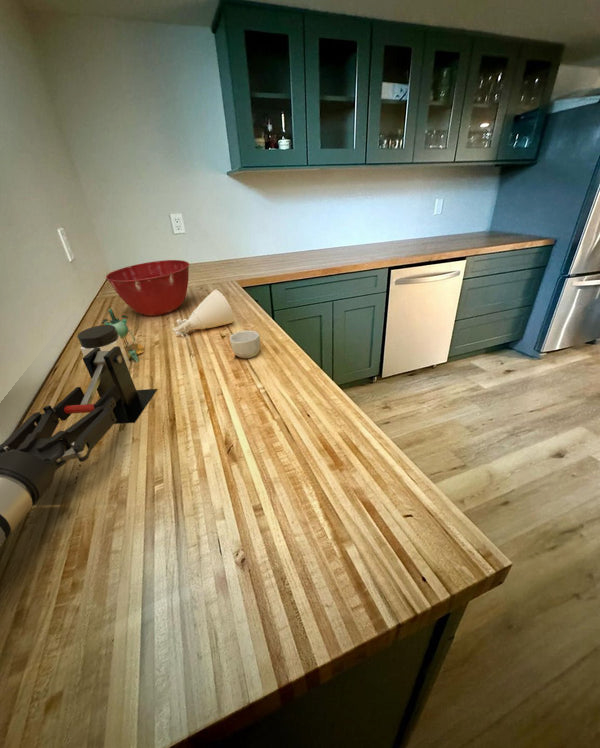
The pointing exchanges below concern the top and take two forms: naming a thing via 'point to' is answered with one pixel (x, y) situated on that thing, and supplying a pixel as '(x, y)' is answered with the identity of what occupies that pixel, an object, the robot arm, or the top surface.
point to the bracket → (120, 385)
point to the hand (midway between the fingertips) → (98, 392)
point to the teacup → (245, 343)
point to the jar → (101, 340)
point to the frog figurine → (123, 331)
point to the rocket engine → (207, 314)
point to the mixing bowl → (152, 286)
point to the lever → (90, 387)
